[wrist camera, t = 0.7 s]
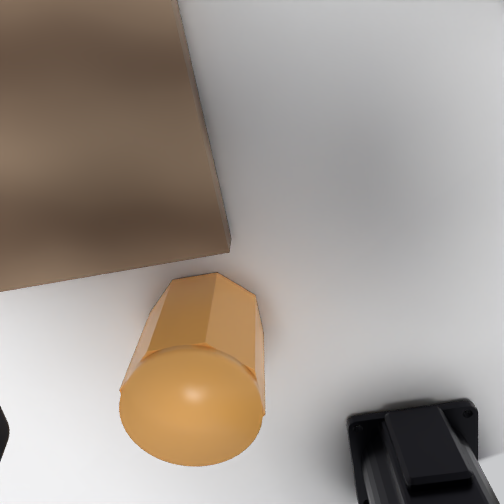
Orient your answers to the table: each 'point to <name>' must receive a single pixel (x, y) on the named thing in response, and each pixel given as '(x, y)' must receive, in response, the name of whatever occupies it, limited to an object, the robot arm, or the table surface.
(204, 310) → the orange wooden cylinder
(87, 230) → the wooden board with peg
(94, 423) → the table surface
